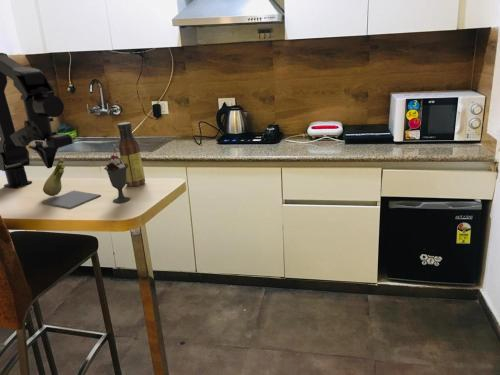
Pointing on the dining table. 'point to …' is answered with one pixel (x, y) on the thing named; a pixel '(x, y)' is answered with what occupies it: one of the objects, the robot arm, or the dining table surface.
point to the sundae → (117, 176)
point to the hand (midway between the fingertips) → (49, 168)
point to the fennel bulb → (54, 180)
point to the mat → (71, 199)
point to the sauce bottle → (130, 155)
